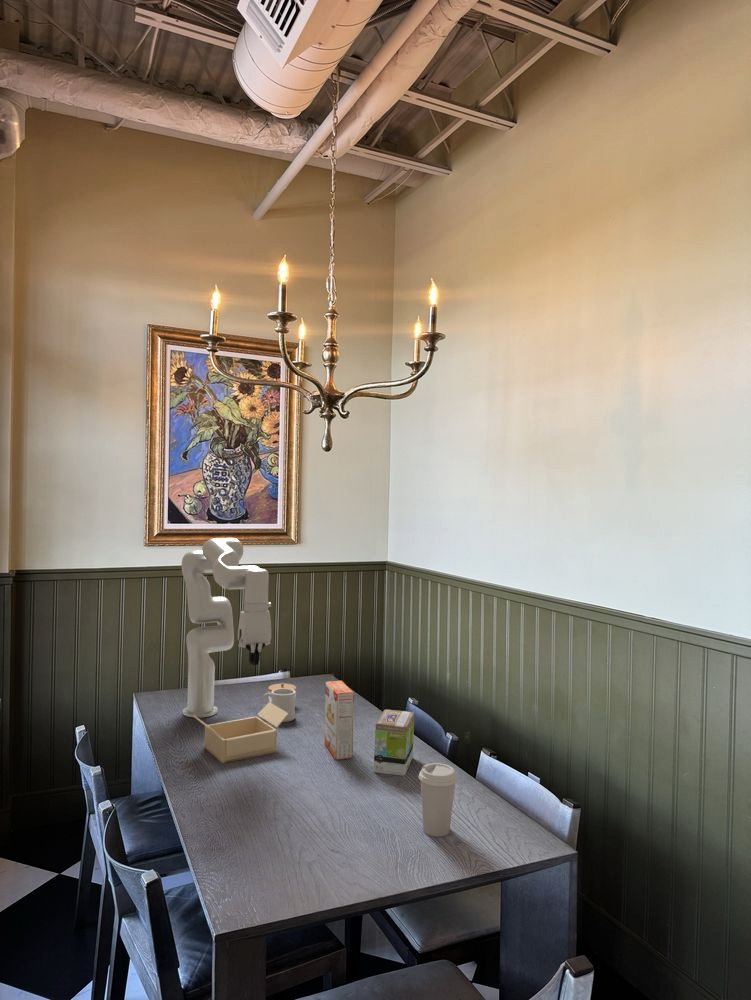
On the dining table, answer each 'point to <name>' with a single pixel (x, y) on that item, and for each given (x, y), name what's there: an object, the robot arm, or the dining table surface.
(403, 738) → the tea box
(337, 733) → the cracker box
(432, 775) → the coffee cup
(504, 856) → the dining table surface
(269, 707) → the flap far
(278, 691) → the mug
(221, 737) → the flap near
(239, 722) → the carton
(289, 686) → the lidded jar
